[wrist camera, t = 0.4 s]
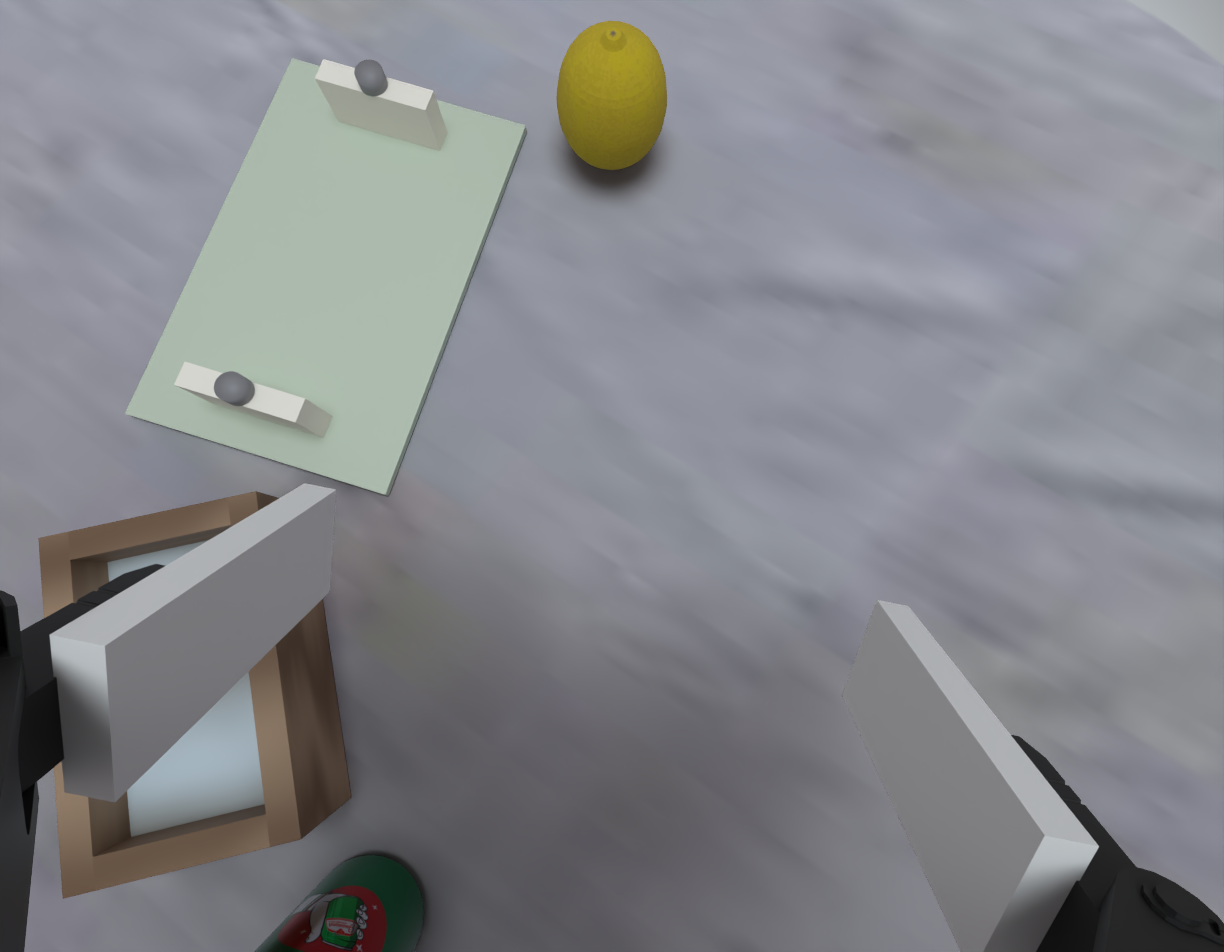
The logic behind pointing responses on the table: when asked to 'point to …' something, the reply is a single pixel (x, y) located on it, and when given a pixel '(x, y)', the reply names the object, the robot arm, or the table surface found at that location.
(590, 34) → the lemon
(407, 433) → the wall board
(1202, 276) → the table surface
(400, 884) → the soda can
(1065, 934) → the robot arm
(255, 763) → the brown wooden open box
